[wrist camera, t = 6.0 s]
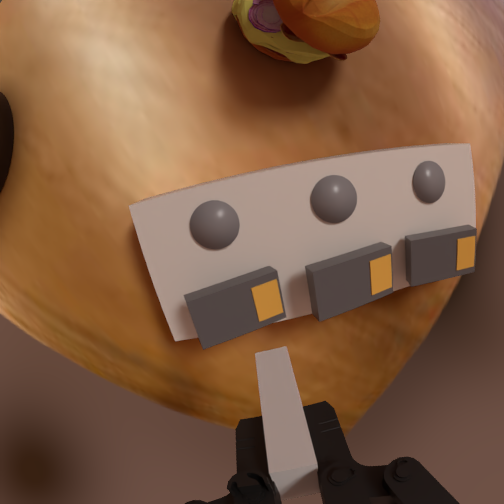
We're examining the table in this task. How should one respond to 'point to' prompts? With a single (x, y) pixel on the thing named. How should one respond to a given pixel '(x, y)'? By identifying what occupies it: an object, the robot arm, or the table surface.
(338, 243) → the rocker switch panel
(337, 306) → the rocker middle
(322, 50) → the cheeseburger
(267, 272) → the rocker left
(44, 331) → the table surface
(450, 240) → the rocker right
